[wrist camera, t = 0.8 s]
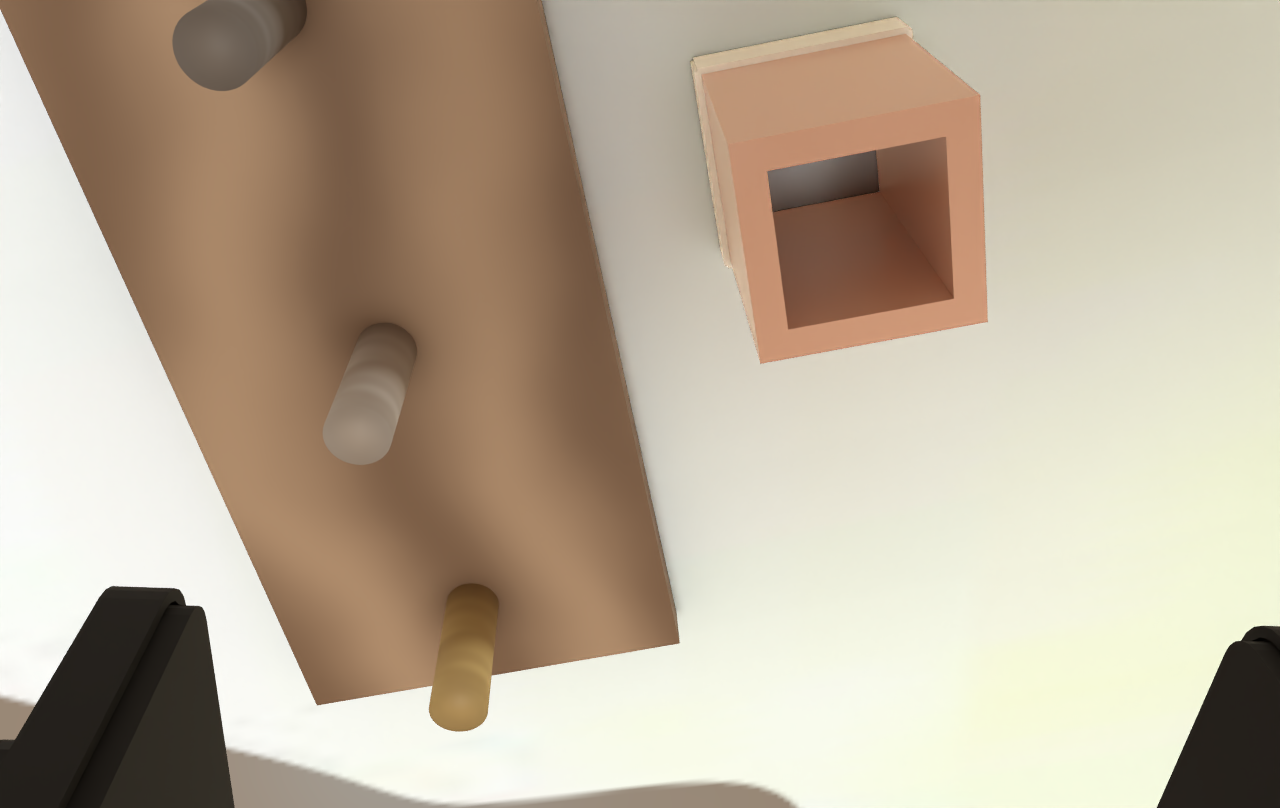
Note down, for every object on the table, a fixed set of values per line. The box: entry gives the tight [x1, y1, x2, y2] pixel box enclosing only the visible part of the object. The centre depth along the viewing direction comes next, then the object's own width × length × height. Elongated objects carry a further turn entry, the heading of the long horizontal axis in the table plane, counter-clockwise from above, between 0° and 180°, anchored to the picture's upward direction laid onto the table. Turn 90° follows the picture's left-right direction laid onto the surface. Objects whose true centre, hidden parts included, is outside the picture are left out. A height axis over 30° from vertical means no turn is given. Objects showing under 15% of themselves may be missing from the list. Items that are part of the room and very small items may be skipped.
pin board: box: [0, 0, 680, 731], centre depth 29 cm, size 12×24×6 cm, turn 11°
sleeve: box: [690, 17, 988, 364], centre depth 26 cm, size 5×5×7 cm
